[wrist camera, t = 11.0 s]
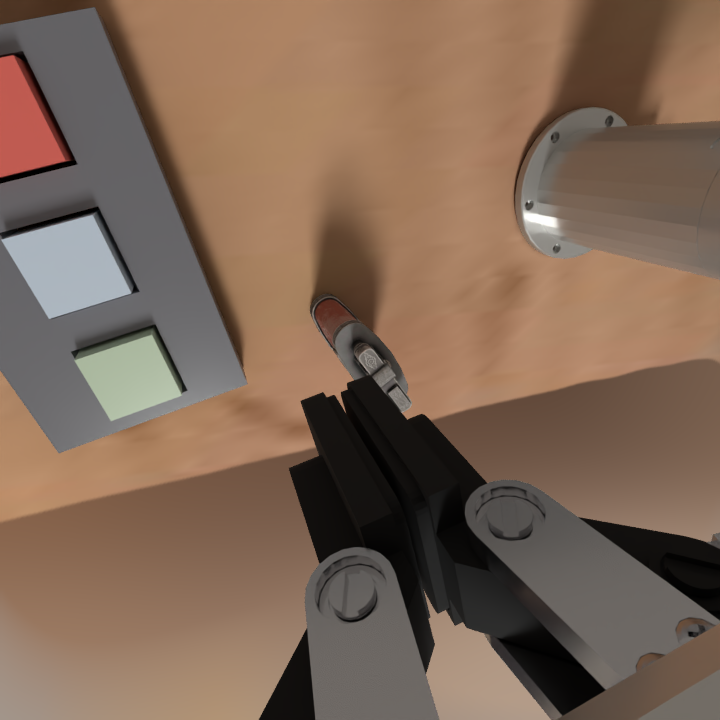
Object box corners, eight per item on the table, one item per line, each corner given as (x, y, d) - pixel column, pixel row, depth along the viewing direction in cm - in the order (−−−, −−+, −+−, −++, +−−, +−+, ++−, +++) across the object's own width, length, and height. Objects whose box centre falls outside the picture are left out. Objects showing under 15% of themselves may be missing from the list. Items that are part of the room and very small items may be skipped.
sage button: (154, 318, 33) (151, 334, 31) (182, 375, 36) (182, 395, 33) (84, 341, 33) (74, 360, 30) (117, 398, 35) (111, 421, 32)
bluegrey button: (101, 208, 30) (92, 214, 27) (136, 280, 32) (131, 293, 29) (19, 230, 29) (1, 239, 26) (61, 303, 31) (49, 318, 28)
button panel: (103, 20, 27) (94, 7, 24) (243, 368, 38) (247, 384, 35) (-172, 74, 24) (-215, 65, 21) (67, 431, 35) (58, 453, 33)
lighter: (300, 310, 38) (334, 357, 29) (332, 285, 38) (376, 324, 29) (352, 374, 42) (395, 433, 33) (381, 352, 42) (432, 403, 33)
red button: (32, 65, 26) (13, 55, 23) (78, 159, 28) (65, 160, 25) (-65, 85, 25) (-98, 77, 22) (-9, 181, 27) (-33, 184, 24)
